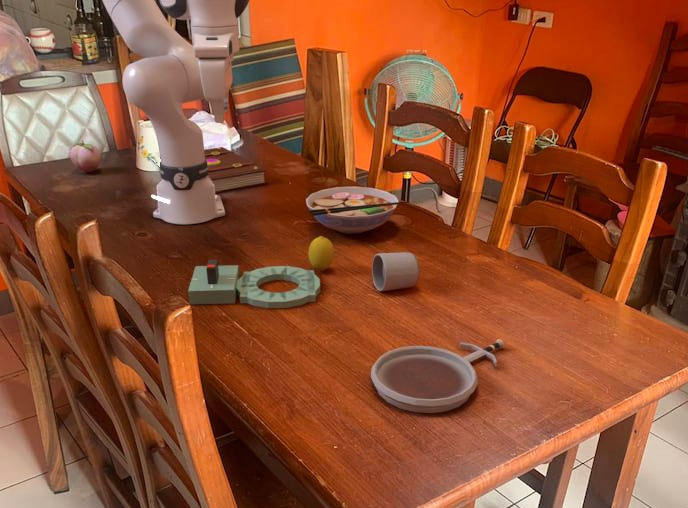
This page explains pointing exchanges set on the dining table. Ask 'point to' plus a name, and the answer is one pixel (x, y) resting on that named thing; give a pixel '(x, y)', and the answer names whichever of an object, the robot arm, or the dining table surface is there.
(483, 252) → the dining table surface
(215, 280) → the hob knob
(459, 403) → the frying pan
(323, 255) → the lemon
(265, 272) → the hob
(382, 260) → the ceramic mug
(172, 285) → the dining table surface
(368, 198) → the ramen bowl
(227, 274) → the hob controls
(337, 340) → the dining table surface
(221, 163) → the book
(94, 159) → the decorative fruit
